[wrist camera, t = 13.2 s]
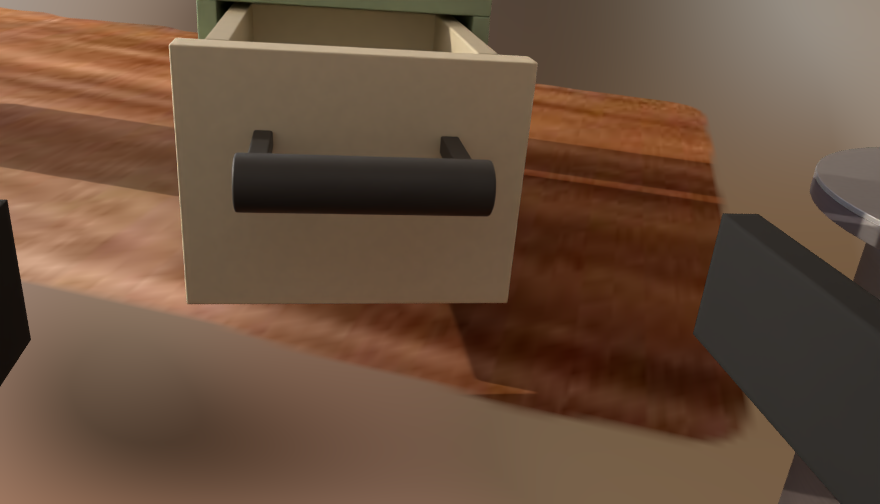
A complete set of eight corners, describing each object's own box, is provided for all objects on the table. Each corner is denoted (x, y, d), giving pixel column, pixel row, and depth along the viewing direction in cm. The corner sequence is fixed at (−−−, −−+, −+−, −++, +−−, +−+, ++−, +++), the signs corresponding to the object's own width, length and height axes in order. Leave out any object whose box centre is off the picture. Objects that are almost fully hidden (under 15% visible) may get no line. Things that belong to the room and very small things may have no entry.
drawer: (544, 380, 23) (589, 99, 20) (159, 388, 22) (131, 79, 18) (449, 182, 40) (464, 9, 36) (227, 176, 38) (219, -6, 34)
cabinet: (470, 221, 38) (492, -2, 33) (207, 217, 35) (194, -22, 31) (430, 138, 51) (442, -29, 46) (236, 132, 49) (230, -44, 44)
